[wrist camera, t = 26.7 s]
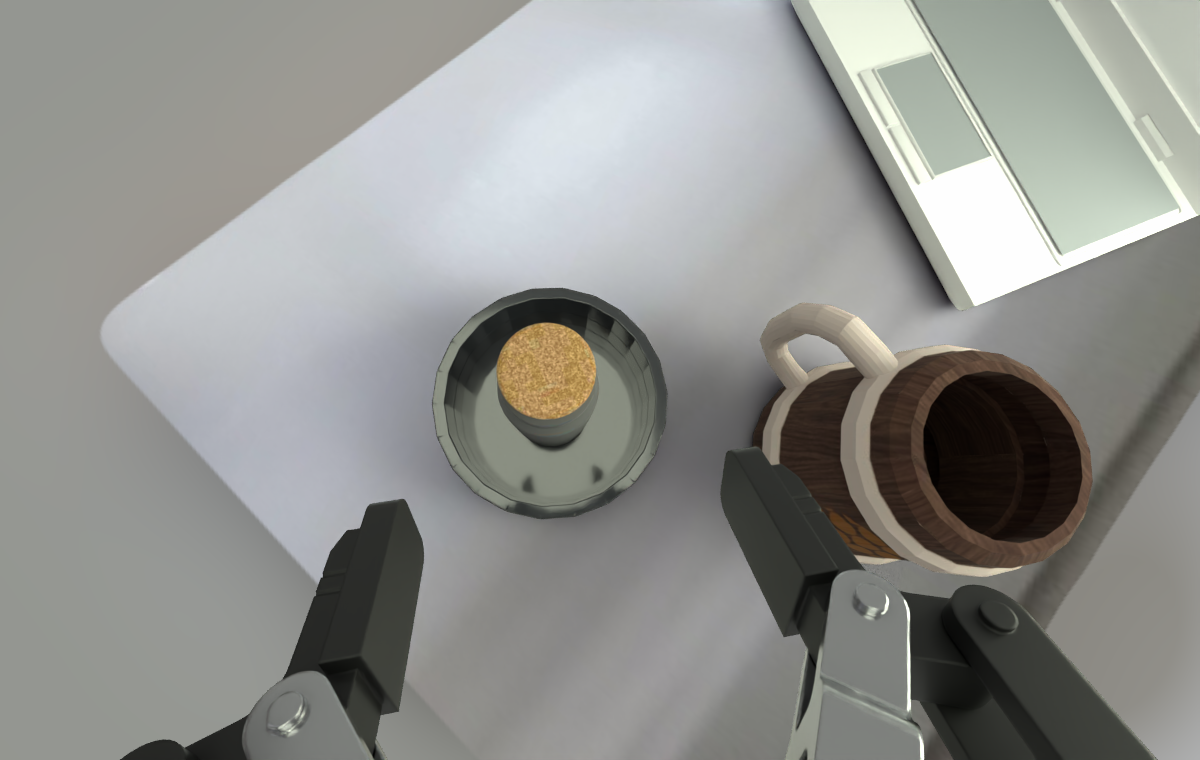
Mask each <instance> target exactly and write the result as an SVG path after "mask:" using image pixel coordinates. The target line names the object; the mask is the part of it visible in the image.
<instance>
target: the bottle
mask: <svg viewBox="0 0 1200 760" xmlns="http://www.w3.org/2000/svg"><path fill="white" fill-rule="evenodd" d="M496 372H497V383H498V384H497V393H498V399H499V403H500V406H501V408H502V410H503V412H504V414H505V415H506V417H507V418H508V420H509V421H510V422H511V423H512V424H513V425H514V426H515V427H516V428H517V429H518V430H519V431H520V432H521V433H522V434H523V435H524V436H525V437H526V438H528V439H529V440H531V441H532V442H534V443H536V444H539V445H543V446H559V445H563V444H566V443H568V442H570V441H572V440H573V439H574V438H576V437H577V436H578V435H579V434H580V433H581V431H582V430H583V429H584V427H585V425H586V424H587V422H588V420H589V419H590V417H591V415H592V413H593V411H594V409H595V407H596V404H597V400H598V395H599V380H598V375H597V372H596V365H595V360H594V356H593V354H592V351H591V349H590V347H589V346H588V344H587V343H586V342H585V340H584V339H583V338H582V337H581V336H580V335H579V334H578V333H576V332H575V331H573V330H572V329H570V328H568V327H565V326H563V325H560V324H554V323H538V324H533V325H530V326H527V327H525V328H523V329H521V330H520V331H518V332H517V333H515V334H514V335H513V336H512V337H511V338H510V339H509V340H508V341H507V342H506V344H505V345H504V347H503V348H502V350H501V352H500V355H499V358H498V361H497V369H496Z"/></svg>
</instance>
